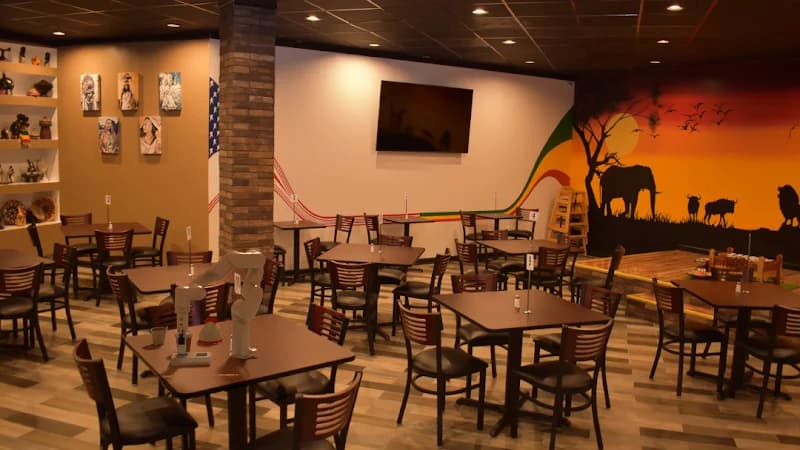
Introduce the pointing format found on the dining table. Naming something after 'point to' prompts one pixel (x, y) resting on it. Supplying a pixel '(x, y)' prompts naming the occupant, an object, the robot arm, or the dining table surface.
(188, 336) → the disposable coffee cup
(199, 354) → the panel
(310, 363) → the dining table surface
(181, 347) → the plug
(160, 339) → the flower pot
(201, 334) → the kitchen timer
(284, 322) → the dining table surface
